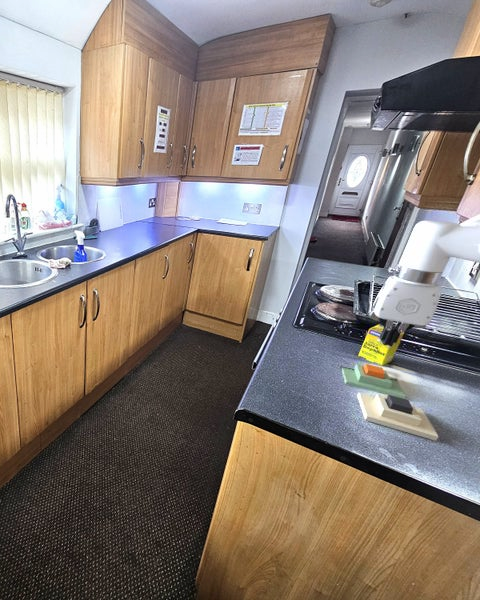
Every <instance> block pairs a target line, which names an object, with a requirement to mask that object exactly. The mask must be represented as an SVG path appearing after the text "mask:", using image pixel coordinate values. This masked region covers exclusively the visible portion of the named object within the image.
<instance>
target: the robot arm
mask: <svg viewBox="0 0 480 600" xmlns="http://www.w3.org/2000/svg"><path fill="white" fill-rule="evenodd" d="M451 258H456V259H461V260H464V261H469V262H473V263H480V213H479V214H477V215H475V216H473V217H471V218H468V219H467V220H464V221H463V222H461V223H460V224H459V223H457V222H456V223H455V222H452V221H443V220H432V219H431V220H430V219H429V220H428V219H427V220H421V221H418V223H416V224H415V226H414V227H413V229H412V232H411V234H410V237H409V239H408V241H407V244H406V246H405V248H404V250H403V253H402V256H401V257H400V260H399V262H398V263H397V264H396V266H389V267H388V269H387V272H388V273H391V274H393V275H390V276H389V277H388V278H387V280H386V281H385V283H384V284H383V286H382V287H381V289H380V290H379V291H378V293H377V296H376V298H375V299H374V302H373V303H372V304H373V305H372V307H371V309H372V310H371V311H370V312H369V313H368V318H369V319H371V320H373V321H376V322H379V323H380V325H382V326H384V328H383V330H382V332H381V335H380V340H381V342H382V343H383V345H389V346H391V347H392V346H393V343H396V342H397V340H398V338H399V336H400V334H401V333H405V332H406V331H409V330H411V329H426V328H427V326H428V325H429V324H430V323H431V322H432V320H433V318H434V316H435V313H436V310H437V307H438V305H439V302H440V298H441V294H442V290H443V289H442V288H443V286H442V285H441V284H440V283H439V282H440V280H441V278H442V275H443V273H444V271H445V270H446V267H447V265H448V263H449V262H450V259H451ZM394 322H396V323H395V325H394Z"/></svg>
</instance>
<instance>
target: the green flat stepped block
mask: <svg viewBox="0 0 480 600" xmlns="http://www.w3.org/2000/svg"><path fill="white" fill-rule="evenodd" d="M364 366H365V365H363V364H359V363H356V364H355V365H354V368H352V367H351V368H350V367H346V366H342V365H340V370H341V373H342V377H343V381H344V385H347V386H350V387H355V388H359V389H363V390H366V391H371V392H373V393H374V392H375V393H377V394H381V395H385V396H388V395H391V396H395V397H399V398H403V399H406V397H407V396H406V394H405V392H404V390H403V389H402V387H401V385H400V383H399V381H398V379H397V378H393V377H390V376H389V374H388V372H387V370H384V372H385V374H386V375H385V377H384V379H381V378H377V377H373V376H369V375H365V372H364V370H363V368H364Z"/></svg>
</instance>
